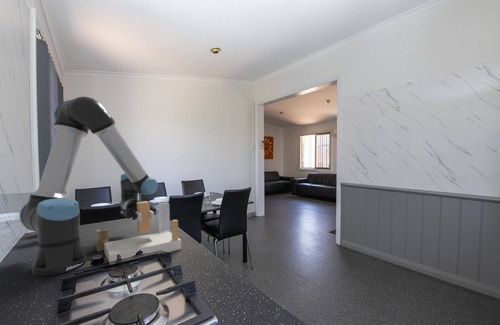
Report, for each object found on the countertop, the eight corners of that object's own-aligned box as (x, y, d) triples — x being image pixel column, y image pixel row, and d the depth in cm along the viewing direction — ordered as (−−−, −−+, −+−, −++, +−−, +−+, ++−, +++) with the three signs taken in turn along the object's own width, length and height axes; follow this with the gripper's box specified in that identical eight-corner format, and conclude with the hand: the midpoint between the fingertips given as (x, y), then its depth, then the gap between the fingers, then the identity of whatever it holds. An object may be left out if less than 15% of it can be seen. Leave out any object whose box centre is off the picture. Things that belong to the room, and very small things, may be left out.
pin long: (161, 238, 117) (160, 204, 117) (159, 236, 120) (158, 203, 120) (170, 236, 119) (169, 203, 119) (167, 234, 123) (166, 202, 122)
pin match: (139, 233, 98) (139, 203, 98) (137, 231, 101) (136, 202, 101) (150, 231, 101) (149, 202, 100) (147, 229, 104) (146, 201, 104)
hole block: (109, 266, 87) (108, 232, 86) (104, 252, 99) (103, 223, 99) (181, 249, 102) (180, 220, 102) (168, 239, 115) (168, 213, 115)
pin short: (97, 251, 101) (97, 231, 101) (96, 248, 105) (96, 229, 105) (108, 248, 104) (108, 229, 104) (107, 246, 107) (107, 227, 107)
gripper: (153, 212, 121) (168, 222, 102) (113, 218, 110) (123, 230, 92) (152, 197, 120) (168, 204, 102) (113, 201, 110) (122, 210, 91)
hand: (146, 216), depth 97 cm, fingers closed on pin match, 4 cm apart
